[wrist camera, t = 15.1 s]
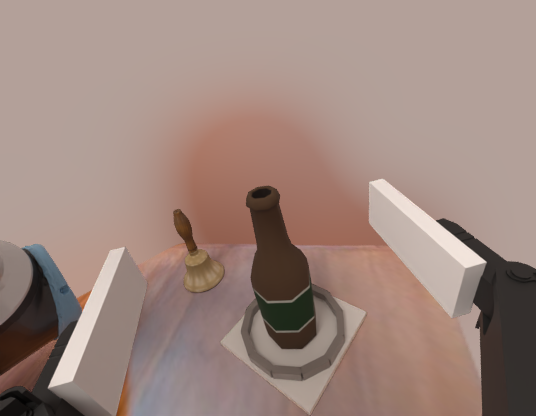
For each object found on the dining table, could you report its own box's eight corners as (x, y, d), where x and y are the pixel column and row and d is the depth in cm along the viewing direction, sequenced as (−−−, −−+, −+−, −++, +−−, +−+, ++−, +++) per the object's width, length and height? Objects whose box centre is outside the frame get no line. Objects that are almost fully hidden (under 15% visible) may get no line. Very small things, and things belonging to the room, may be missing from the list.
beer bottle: (326, 314, 43) (309, 176, 30) (307, 361, 38) (277, 219, 25) (281, 300, 47) (249, 172, 34) (258, 341, 42) (210, 208, 29)
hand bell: (205, 256, 61) (179, 194, 53) (232, 269, 56) (208, 203, 48) (175, 283, 56) (141, 219, 48) (202, 299, 51) (169, 232, 43)
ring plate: (221, 345, 43) (217, 336, 42) (283, 275, 52) (281, 267, 51) (310, 415, 33) (307, 407, 32) (366, 315, 43) (366, 305, 41)
